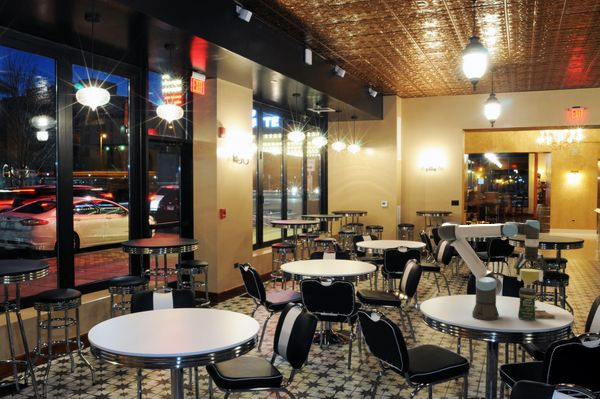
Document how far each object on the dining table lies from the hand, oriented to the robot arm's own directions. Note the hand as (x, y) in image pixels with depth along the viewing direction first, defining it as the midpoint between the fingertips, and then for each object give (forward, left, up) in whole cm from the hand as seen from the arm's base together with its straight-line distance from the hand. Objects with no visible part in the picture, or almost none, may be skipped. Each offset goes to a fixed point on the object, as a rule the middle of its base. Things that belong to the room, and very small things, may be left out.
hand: (529, 280), depth 306 cm
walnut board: (+9, +7, -23) cm, 25 cm away
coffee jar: (-2, -2, -23) cm, 23 cm away
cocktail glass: (+12, +30, -23) cm, 40 cm away
